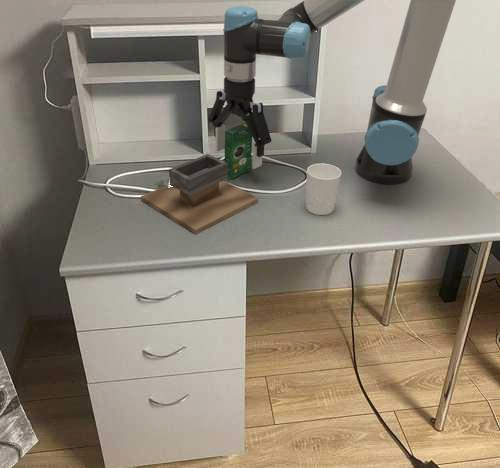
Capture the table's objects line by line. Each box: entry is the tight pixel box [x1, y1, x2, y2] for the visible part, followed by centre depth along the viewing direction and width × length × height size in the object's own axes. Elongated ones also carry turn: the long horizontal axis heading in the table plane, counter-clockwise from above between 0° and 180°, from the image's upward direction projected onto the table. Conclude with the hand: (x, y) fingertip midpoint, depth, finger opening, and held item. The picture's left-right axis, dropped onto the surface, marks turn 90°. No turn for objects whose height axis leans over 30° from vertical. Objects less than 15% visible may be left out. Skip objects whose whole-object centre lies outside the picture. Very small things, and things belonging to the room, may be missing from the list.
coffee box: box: [224, 122, 253, 180], centre depth 136 cm, size 8×3×13 cm, turn 138°
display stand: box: [140, 153, 259, 235], centre depth 125 cm, size 20×20×10 cm
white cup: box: [305, 163, 342, 216], centre depth 124 cm, size 8×8×10 cm
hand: (238, 158), depth 137 cm, fingers open, 13 cm apart
